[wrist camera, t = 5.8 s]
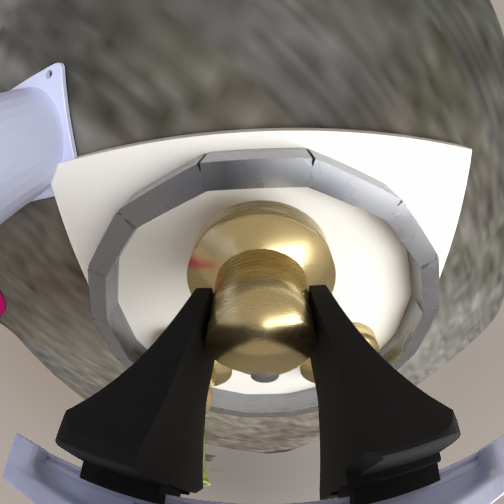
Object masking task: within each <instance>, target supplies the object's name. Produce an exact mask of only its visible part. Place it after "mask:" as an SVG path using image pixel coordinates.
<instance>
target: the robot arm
mask: <svg viewBox="0 0 504 504" xmlns="http://www.w3.org/2000/svg"><path fill="white" fill-rule="evenodd" d="M51 71H52V75H51V77H50V73H51ZM76 157H77V152H76V147H75V142H74V137H73V131H72V125H71V119H70V112H69V105H68V97H67V87H66V76H65V66H64V64H63V63H55V64H53V65H51V66H49V67H47V68H46V69H44V70H42V71H40V72H39V73H37V74H35V75H33V76H32V77H30V78H28V79H27V80H25V81H24V82H22V83H20V84H19V85H17V86H16V87H14V88H13V89H11V90H10V91H6V92H2V93H0V225H1V224H2V223H3V222H4V221H6V220H7V219H8V218H9V217H11V216H12V215H13V214H14V213H16V212H17V211H18V210H20V209H21V208H22V207H24V206H25V205H26V204H28V203H29V202H32V201H36V200H40V199H45V198H49V197H54V196H55V195H54V192H53V188H52V184H51V182H52V180H53V178H54V176H55V173H56V169H57V166H58V164H59V163H61V162H63V161H67V160H70V159H74V158H76ZM309 298H310V305H311V311H312V317H313V324H314V330H315V337H316V347H315V350H314V352H313V354H312V355H311V356H310V360H311V366H312V371H313V376H314V381H315V386H316V392H317V398H318V408H319V425H320V500H324V501H315V502H305V503H293V504H492V503H493V502H494V501H496V500H497V499H498V498H500V497H501V496H502V495H504V435H503V436H501V437H499V438H498V439H496V440H494V441H493V442H491V443H490V444H488V445H486V446H485V447H483V448H482V449H480V450H479V451H478V452H476V453H475V454H472V455H470V456H469V457H466V458H464V459H462V460H460V461H458V462H456V463H454V464H452V465H450V466H447V467H445V468H443V469H440V470H439V469H438V465H437V463H438V462H440V460H441V457H440V453H439V452H440V451H442V450H443V449H445V448H446V447H448V446H449V445H451V444H452V443H453V442H455V441H456V440H457V439H458V438H459V437H460V430H459V426H458V423H457V419H456V417H455V414H454V412H453V410H452V409H450V408H448V407H447V406H445V405H443V404H442V403H440V402H438V401H437V400H435V399H433V398H432V397H430V396H429V395H427V394H426V393H424V392H423V391H422V390H420V389H419V388H417V387H416V386H415V385H414V384H412V383H411V382H410V381H409V380H407V379H406V378H405V377H404V376H403V375H401V374H400V373H399V372H398V371H397V370H395V369H394V368H393V367H392V366H391V365H390V364H389V363H388V362H387V361H386V360H385V359H384V358H383V357H382V356H381V355H380V354H379V353H378V352H377V351H376V350H375V349H374V348H373V347H372V346H371V345H370V343H369V342H368V341H367V340H366V339H365V338H364V336H363V335H362V334H361V333H360V332H359V330H358V329H357V328H356V327H355V325H354V324H353V323H352V321H351V320H350V319H349V318H348V316H347V315H346V314H345V312H344V311H343V309H342V308H341V306H340V305H339V304H338V302H337V301H336V299H335V298H334V296H333V295H332V293H331V292H330V290H329V288H328V287H327V286H326V285H309ZM212 299H213V290H212V288H196V289H195V290H194V292H193V293H192V294H191V296H190V297H189V299H188V300H187V301H186V303H185V304H184V306H183V307H182V308H181V310H180V311H179V312H178V314H177V315H176V316H175V318H174V319H173V320H172V322H171V323H170V324H169V325H168V327H167V328H166V329H165V330H164V332H163V333H162V334H161V335H160V336H159V337H158V339H157V340H156V341H155V342H154V343H153V344H152V345H151V347H150V348H149V349H148V350H147V351H146V352H145V353H144V354H143V355H142V356H141V357H140V358H139V359H138V360H137V361H136V362H135V363H134V364H133V365H131V366H130V367H129V368H128V369H127V370H126V371H125V372H124V373H122V374H121V375H120V376H119V377H118V378H116V379H115V380H114V381H113V382H111V383H110V384H108V385H107V386H106V387H104V388H103V389H101V390H100V391H99V392H97V393H96V394H94V395H93V396H91V397H90V398H88V399H86V400H84V401H83V402H81V403H80V404H78V405H76V406H74V407H72V408H70V409H68V410H66V413H65V415H64V417H63V420H62V423H61V425H60V428H59V431H58V434H57V437H56V443H57V445H58V446H60V447H61V448H63V449H64V450H66V451H67V452H69V453H71V454H72V455H74V456H76V457H77V458H79V459H81V460H83V465H82V468H80V467H78V466H76V465H73V464H71V463H69V462H67V461H64V460H63V459H60V458H58V457H56V456H54V455H52V454H50V453H49V452H47V451H46V450H45V449H43V448H41V447H40V446H38V445H37V444H35V443H33V442H32V441H30V440H28V439H26V438H25V437H23V436H22V435H20V434H18V433H17V434H16V436H15V439H14V442H13V445H12V448H11V451H10V454H9V457H8V460H7V464H6V467H5V470H4V474H3V478H4V479H5V480H6V481H7V482H9V483H10V484H11V485H12V486H14V487H15V488H16V489H17V490H19V491H20V492H21V493H22V494H24V495H25V496H26V497H28V498H29V499H30V500H31V501H32V502H34V503H35V504H234V503H220V502H210V501H202V500H195V499H189V498H182V497H180V495H181V494H186V495H189V494H190V492H192V493H196V492H198V491H200V490H201V489H203V444H204V426H205V413H206V403H207V396H208V391H209V386H210V381H211V376H212V371H213V367H214V362H215V360H214V359H213V358H212V357H211V356H210V354H209V353H208V351H207V349H206V345H205V339H206V333H207V327H208V322H209V316H210V310H211V305H212ZM334 498H337V499H334ZM327 499H331V500H327Z"/></svg>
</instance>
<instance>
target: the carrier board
mask: <svg viewBox="0 0 504 504" xmlns="http://www.w3.org/2000/svg"><path fill="white" fill-rule="evenodd" d="M261 148H305V149H306V150H307V149H311V150H313V151H316V152H318V153H320V154H323V155H325V156H327V157H330V158H332V159H334V160H336V161H339V162H341V163H343V164H345V165H347V166H350V167H352V168H354V169H356V170H358V171H360V172H362V173H364V174H366V175H368V176H370V177H372V178H374V179H376V180H378V181H380V182H382V183H384V184H385V185H387V186H388V187H389V188H390V189H391V190H392V191H393V192H394V193H395V194H396V195H397V196H399V197H400V198H401V199H402V200H403V201H404V203H405V204H406V206H407V207H408V209H409V210H410V211H411V213H412V214H413V216H414V217H415V219H416V220H417V222H418V224H419V225H420V227H421V228H422V230H423V231H424V233H425V235H426V236H427V238H428V239H429V241H430V243H431V244H432V246H433V248H434V249H435V251H436V253H437V255H438V258H439V278H440V275H441V272H442V270H443V267H444V264H445V261H446V258H447V255H448V252H449V249H450V246H451V243H452V240H453V236H454V233H455V229H456V226H457V222H458V218H459V215H460V211H461V206H462V202H463V198H464V193H465V189H466V184H467V178H468V173H469V167H470V161H471V154H472V149H469V148H467V147H465V146H463V145H459V144H455V143H450V142H445V141H439V140H434V139H428V138H422V137H416V136H409V135H402V134H394V133H385V132H375V131H364V130H351V129H332V128H260V129H241V130H227V131H215V132H205V133H196V134H188V135H180V136H173V137H166V138H160V139H154V140H148V141H142V142H137V143H132V144H127V145H122V146H117V147H113V148H108V149H104V150H100V151H96V152H91V153H88V154H84V155H80V156H77V157H76V158H74V159H70V160H67V161H63V162H61V163H59V164H58V166H57V169H56V173H55V176H54V178H53V180H52V182H51V184H52V188H53V192H54V195H55V198H56V202H57V205H58V208H59V211H60V214H61V217H62V220H63V223H64V226H65V229H66V232H67V234H68V237H69V240H70V242H71V245H72V247H73V250H74V252H75V255H76V257H77V260H78V262H79V265H80V267H81V269H82V271H83V274H84V276H85V278H86V280H87V283H88V268H89V267H88V266H89V263H90V261H91V259H92V257H93V255H94V253H95V251H96V249H97V247H98V245H99V243H100V241H101V239H102V237H103V235H104V234H105V232H106V230H107V228H108V226H109V224H110V222H111V221H112V219H113V217H114V215H115V213H116V212H117V211H118V210H119V209H120V208H121V207H122V206H123V205H124V204H125V203H126V202H127V201H128V200H129V199H130V198H131V197H132V196H133V195H134V194H135V193H136V192H138V191H140V190H141V189H143V188H144V187H146V186H148V185H149V184H151V183H153V182H154V181H156V180H158V179H159V178H161V177H163V176H165V175H166V174H168V173H170V172H171V171H173V170H175V169H177V168H179V167H180V166H182V165H184V164H186V163H188V162H189V161H191V160H193V159H195V158H197V157H199V156H201V155H203V154H204V153H206V154H208V152H213V151H226V150H241V149H261ZM256 200H267V201H275V202H281V203H284V204H288V205H290V206H293V207H295V208H297V209H299V210H301V211H302V212H304V213H306V214H307V215H308V216H310V217H311V218H312V219H313V220H314V221H315V222H316V223H317V224H318V225H319V227H320V228H321V230H322V231H323V233H324V235H325V237H326V240H327V243H328V246H329V249H330V252H331V255H332V258H333V261H334V265H335V270H336V280H335V286H334V289H333V292H332V295H333V296H334V298H335V299H336V301H337V302H338V304H339V305H340V306H341V308H342V309H343V311H344V312H345V314H346V315H347V316H348V318H349V319H350V320H351V321H352V322H357V323H362V324H365V325H367V326H368V327H370V328H371V329H372V330H373V332H374V334H375V337H376V340H377V343H378V346H379V349H381V348H382V347H383V346H384V345H385V344H386V343H387V342H388V341H389V340H390V339H391V338H392V336H393V335H394V334H395V333H396V331H397V329H398V327H399V324H400V322H401V320H402V317H403V315H404V312H405V310H406V307H407V305H408V302H409V300H410V297H411V294H412V292H411V280H410V271H409V262H408V254H407V248H406V247H405V245H404V244H403V242H402V241H401V240H400V238H399V237H398V236H397V234H396V233H395V232H394V230H393V229H392V228H391V227H390V225H389V224H388V223H387V221H386V220H384V219H382V218H380V217H377V216H375V215H373V214H371V213H369V212H366V211H364V210H362V209H359V208H357V207H355V206H353V205H350V204H348V203H346V202H343V201H341V200H338V199H336V198H334V197H331V196H329V195H326V194H324V193H321V192H319V191H316V190H314V189H311V188H309V187H285V188H254V189H234V190H217V191H207V192H205V193H203V194H201V195H199V196H197V197H195V198H193V199H191V200H189V201H187V202H185V203H183V204H181V205H179V206H177V207H175V208H173V209H171V210H169V211H168V212H166V213H164V214H162V215H160V216H158V217H156V218H154V219H153V220H151V221H149V222H147V223H145V224H144V225H142V226H140V227H138V229H137V230H136V232H135V233H134V235H133V236H132V238H131V239H130V241H129V243H128V244H127V246H126V247H125V249H124V250H123V252H122V254H121V255H120V257H119V277H118V303H119V305H120V307H121V309H122V311H123V313H124V315H125V317H126V320H127V322H128V324H129V326H130V328H131V330H132V332H133V334H134V335H135V337H136V339H137V340H138V341H139V342H140V343H141V344H142V345H143V346H144V347H145V348H146V349H147V350H148V349H149V348H150V347H151V345H152V344H153V343H154V342H155V341H156V340H157V338H158V336H159V335H160V333H161V332H163V331H164V330H165V329H166V328H167V327H168V325H169V324H170V323H171V322H172V320H173V319H174V318H175V316H176V315H177V314H178V312H179V311H180V310H181V308H182V307H183V306H184V304H185V303H186V301H187V300H188V299H189V297H190V296H191V293H190V290H189V287H188V283H187V268H188V263H189V260H190V257H191V254H192V251H193V248H194V245H195V242H196V239H197V237H198V235H199V233H200V231H201V229H202V228H203V227H204V225H205V224H206V223H207V222H208V221H209V220H210V219H211V218H212V217H213V216H214V215H216V214H217V213H219V212H220V211H222V210H224V209H226V208H228V207H230V206H233V205H235V204H238V203H243V202H247V201H256ZM88 285H89V284H88ZM313 387H316V386H315V383H312V382H310V381H308V380H306V379H305V378H304V377H303V376H302V375H301V372H300V365H299V366H298V367H297V368H295V369H293V370H291V371H289V372H287V373H284V374H280V375H279V378H278V379H277V380H275V381H273V382H269V383H260V382H256V381H254V380H253V379H252V378H251V375H249V374H245V373H242V372H239V371H236V370H233V369H232V375H231V377H230V379H229V380H228V381H226V382H225V383H223V384H221V385H217V386H214V388H218V389H223V390H227V391H232V392H237V393H242V394H285V393H292V392H297V391H301V390H305V389H309V388H313Z"/></svg>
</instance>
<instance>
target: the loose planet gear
mask: <svg viewBox="0 0 504 504" xmlns="http://www.w3.org/2000/svg"><path fill="white" fill-rule="evenodd" d="M335 280H336V270H335V265H334V261H333V258H332V255H331V252H330V249H329V246H328V243H327V240H326V237H325V235H324V233H323V231H322V230H321V228H320V227H319V225H318V224H317V223H316V222H315V221H314V220H313V219H312V218H311V217H310V216H308V215H307V214H306V213H304V212H302V211H301V210H299V209H297V208H295V207H293V206H290V205H288V204H284V203H281V202H275V201H267V200H256V201H247V202H243V203H238V204H235V205H233V206H230V207H228V208H226V209H224V210H222V211H220V212H219V213H217V214H216V215H214V216H213V217H212V218H211V219H210V220H209V221H208V222H207V223H206V224H205V225H204V227H203V228H202V229H201V231H200V233H199V235H198V237H197V239H196V242H195V245H194V248H193V251H192V254H191V257H190V260H189V263H188V268H187V283H188V287H189V290H190V293H191V294H192V293H193V292H194V290H195V289H196V288H212V290H213V299H212V305H211V310H210V316H209V322H208V327H207V333H206V339H205V345H206V349H207V351H208V353H209V354H210V356H211V357H212V358H213V359H214V360H216V361H217V362H218V363H220V364H221V365H223V366H225V367H227V368H230V369H233V370H236V371H239V372H244V373H251V374H271V373H278V372H283V371H286V370H289V369H292V368H294V367H297V366H299V365H300V364H302V363H303V362H305V361H306V360H307V359H308V358H309V357H310V356H311V355H312V354H313V352H314V350H315V347H316V337H315V330H314V324H313V317H312V311H311V305H310V298H309V285H326V286H327V287H328V288H329V290H330V292H331V293H332V292H333V289H334V286H335Z"/></svg>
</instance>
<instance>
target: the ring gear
mask: <svg viewBox="0 0 504 504" xmlns="http://www.w3.org/2000/svg"><path fill="white" fill-rule="evenodd" d="M285 187H309V188H311V189H314V190H316V191H319V192H321V193H324V194H326V195H329V196H331V197H334V198H336V199H338V200H341V201H343V202H346V203H348V204H350V205H353V206H355V207H357V208H359V209H362V210H364V211H366V212H369V213H371V214H373V215H375V216H377V217H380V218H382V219H384V220H386V221H387V223H388V224H389V225H390V227H391V228H392V229H393V230H394V232H395V233H396V234H397V236H398V237H399V238H400V240H401V241H402V242H403V244H404V245H405V247H406V248H407V254H408V262H409V271H410V280H411V292H412V294H411V297H410V300H409V302H408V305H407V307H406V310H405V312H404V315H403V317H402V320H401V322H400V324H399V327H398V329H397V331H396V333H395V334H394V335H393V336H392V338H391V339H390V340H389V341H388V342H387V343H386V344H385V345H384V346H383V347H382V348H381V349H380V355H381V356H382V357H383V358H384V359H385V360H386V361H387V362H388V363H389V364H390V365H391V366H392V367H393V368H394V369H395V370H398V369H399V368H400V367H401V366H402V365H403V364H404V363H405V362H406V361H407V360H409V359H410V358H411V357H412V356H413V355H414V354H415V352H416V351H417V350H418V348H419V346H420V344H421V343H422V341H423V339H424V337H425V335H426V333H427V331H428V329H429V327H430V326H431V324H432V322H433V320H434V318H435V315H436V313H437V311H438V310H437V309H438V306H439V258H438V255H437V253H436V251H435V249H434V248H433V246H432V244H431V243H430V241H429V239H428V238H427V236H426V235H425V233H424V231H423V230H422V228H421V227H420V225H419V224H418V222H417V220H416V219H415V217H414V216H413V214H412V213H411V211H410V210H409V209H408V207H407V206H406V204H405V203H404V201H403V200H402V199H401V198H400V197H399V196H397V195H396V194H395V193H394V192H393V191H392V190H391V189H390V188H389V187H388V186H387V185H385V184H384V183H382V182H380V181H378V180H376V179H374V178H372V177H370V176H368V175H366V174H364V173H362V172H360V171H358V170H356V169H354V168H352V167H350V166H347V165H345V164H343V163H341V162H339V161H336V160H334V159H332V158H330V157H327V156H325V155H323V154H320V153H318V152H316V151H313V150H311V149H307V150H306V149H305V148H261V149H241V150H226V151H213V152H208V154H206V153H204V154H203V155H201V156H199V157H197V158H195V159H193V160H191V161H189V162H188V163H186V164H184V165H182V166H180V167H179V168H177V169H175V170H173V171H171V172H170V173H168V174H166V175H165V176H163V177H161V178H159V179H158V180H156V181H154V182H153V183H151V184H149V185H148V186H146V187H144V188H143V189H141V190H140V191H138V192H136V193H135V194H134V195H133V196H132V197H131V198H130V199H129V200H128V201H127V202H126V203H125V204H124V205H123V206H122V207H121V208H120V209H119V210H118V211H117V212H116V213H115V215H114V217H113V219H112V221H111V222H110V224H109V226H108V228H107V230H106V232H105V234H104V235H103V237H102V239H101V241H100V243H99V245H98V247H97V249H96V251H95V253H94V255H93V257H92V259H91V261H90V263H89V266H88V267H89V268H88V284H89V295H90V305H91V314H92V318H93V321H94V323H95V324H96V326H97V328H98V330H99V331H100V333H101V335H102V336H103V338H104V340H105V341H106V343H107V344H108V346H109V348H110V349H111V351H112V352H113V354H114V355H115V357H116V358H118V359H117V360H119V361H120V362H121V363H122V364H123V365H124V366H126V367H127V368H129V367H130V366H131V365H133V364H134V363H135V362H136V361H137V360H138V359H139V358H140V357H141V356H142V355H143V354H144V353H145V352H146V351H147V349H146V348H145V347H144V346H143V345H142V344H141V343H140V342H139V341H138V340H137V339H136V337H135V335H134V334H133V332H132V330H131V328H130V326H129V324H128V322H127V320H126V317H125V315H124V313H123V311H122V309H121V307H120V305H119V303H118V277H119V257H120V255H121V254H122V252H123V250H124V249H125V247H126V246H127V244H128V243H129V241H130V239H131V238H132V236H133V235H134V233H135V232H136V230H137V229H138V227H140V226H142V225H144V224H145V223H147V222H149V221H151V220H153V219H154V218H156V217H158V216H160V215H162V214H164V213H166V212H168V211H169V210H171V209H173V208H175V207H177V206H179V205H181V204H183V203H185V202H187V201H189V200H191V199H193V198H195V197H197V196H199V195H201V194H203V193H205V192H207V191H217V190H234V189H254V188H285ZM318 410H319V408H318V398H317V392H316V387H313V388H309V389H305V390H301V391H297V392H292V393H285V394H242V393H237V392H232V391H227V390H223V389H218V388H214V387H213V395H212V402H211V408H210V410H208V411H213V412H217V413H223V414H228V415H233V416H239V417H243V416H244V417H289V416H291V415H292V416H296V415H301V414H305V413H310V412H314V411H318Z"/></svg>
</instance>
